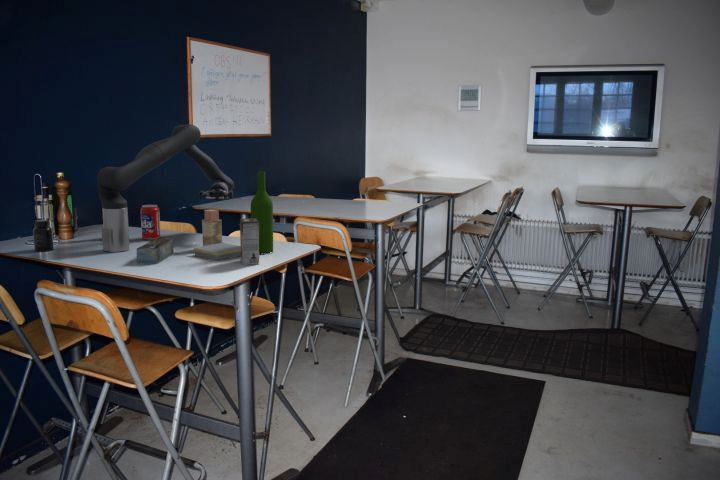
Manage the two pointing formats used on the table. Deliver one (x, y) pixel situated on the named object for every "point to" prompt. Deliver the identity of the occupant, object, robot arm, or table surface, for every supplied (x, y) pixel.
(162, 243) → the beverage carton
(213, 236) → the wooden block
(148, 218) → the soda can
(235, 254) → the dock
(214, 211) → the cube
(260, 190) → the wine bottle
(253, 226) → the coffee box
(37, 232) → the supplement bottle
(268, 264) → the table surface
